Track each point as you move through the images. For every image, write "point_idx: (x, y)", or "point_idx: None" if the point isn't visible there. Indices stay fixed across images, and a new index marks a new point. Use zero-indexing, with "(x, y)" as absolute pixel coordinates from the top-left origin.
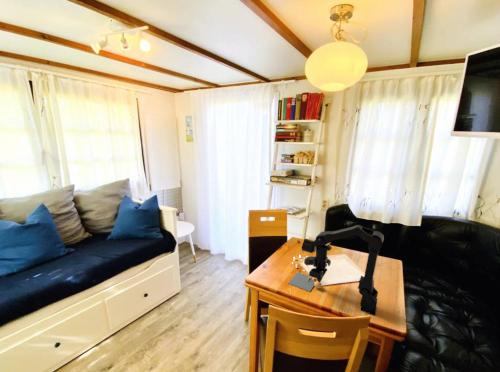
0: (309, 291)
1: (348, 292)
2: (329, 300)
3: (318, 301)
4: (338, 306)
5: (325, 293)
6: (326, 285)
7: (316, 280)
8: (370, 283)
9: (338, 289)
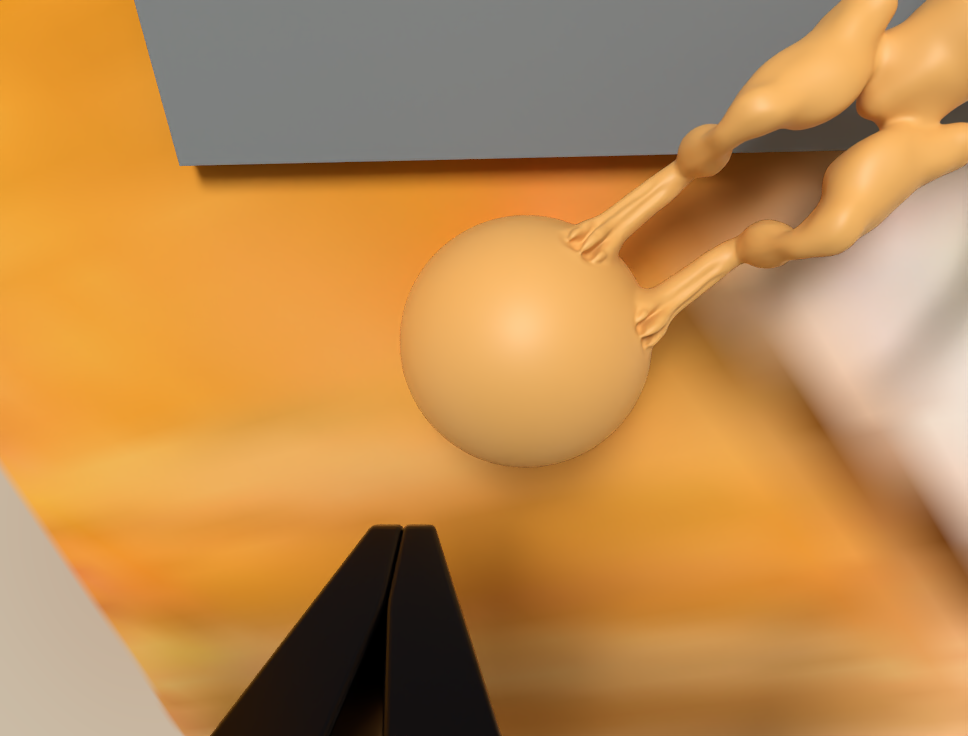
0: (181, 148)
1: (739, 722)
2: (277, 573)
3: (57, 441)
4: (246, 685)
5: (443, 474)
6: (796, 413)
7: (749, 239)
8: None
9: (752, 613)
